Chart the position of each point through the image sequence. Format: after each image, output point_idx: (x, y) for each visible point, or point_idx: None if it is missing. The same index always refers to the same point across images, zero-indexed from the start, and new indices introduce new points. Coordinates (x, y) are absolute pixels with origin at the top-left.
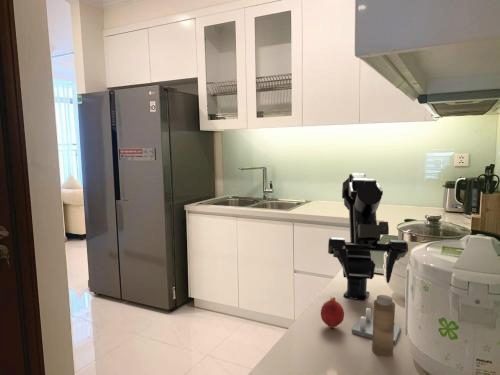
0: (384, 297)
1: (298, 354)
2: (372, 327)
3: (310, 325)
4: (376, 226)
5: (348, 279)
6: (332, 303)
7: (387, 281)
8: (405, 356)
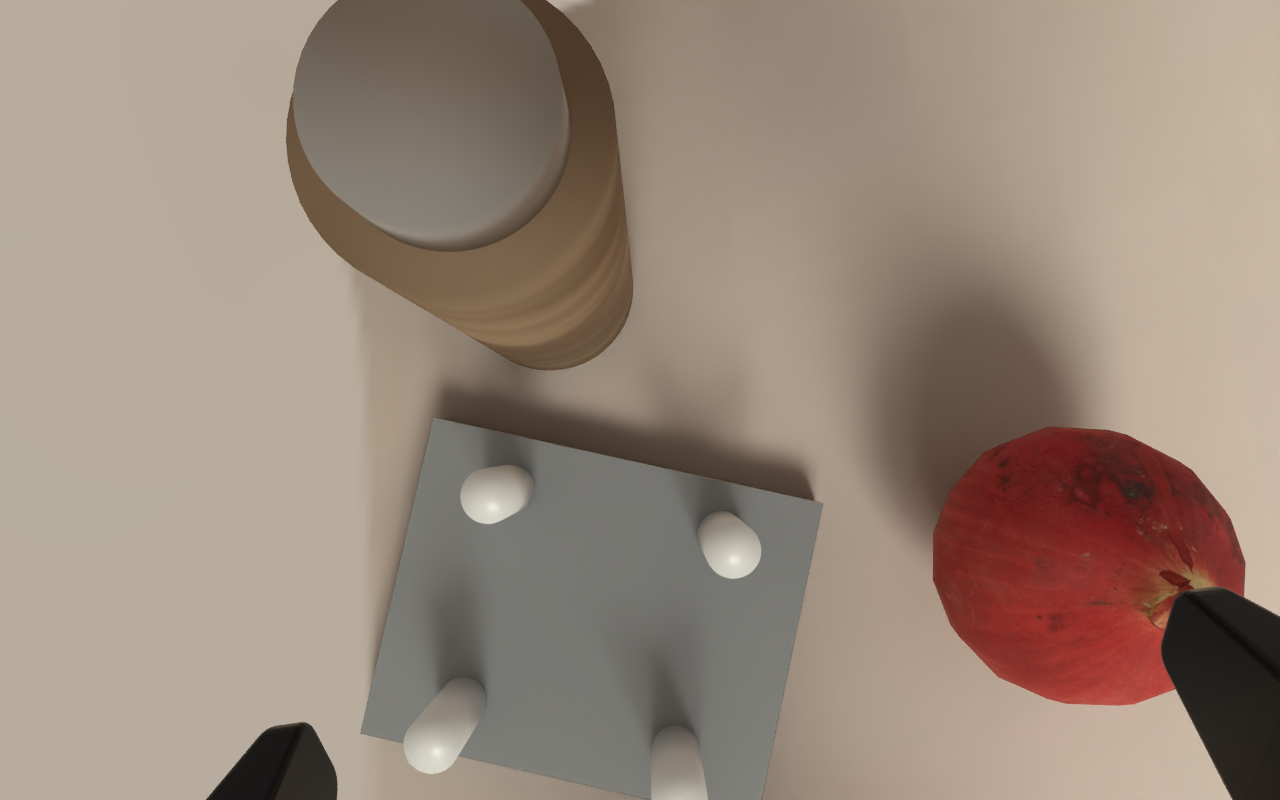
0: (429, 110)
1: (1205, 6)
2: (631, 604)
3: None
4: None
5: (1194, 590)
6: (1159, 528)
7: (310, 740)
8: None
